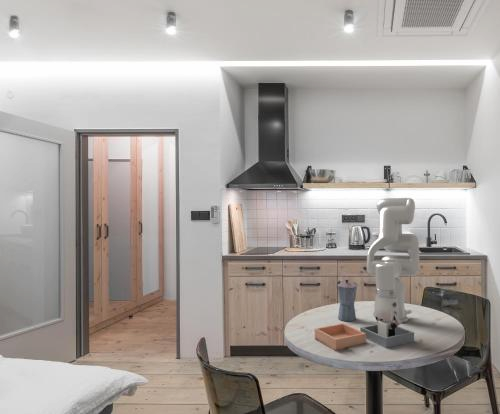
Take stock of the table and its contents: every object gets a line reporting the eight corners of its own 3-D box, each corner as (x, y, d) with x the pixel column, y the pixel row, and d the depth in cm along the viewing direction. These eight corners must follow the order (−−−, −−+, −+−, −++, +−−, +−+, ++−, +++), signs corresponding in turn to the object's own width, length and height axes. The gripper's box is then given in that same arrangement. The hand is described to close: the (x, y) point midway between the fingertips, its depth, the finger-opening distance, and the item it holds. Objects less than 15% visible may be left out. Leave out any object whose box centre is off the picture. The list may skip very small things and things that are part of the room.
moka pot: (348, 324, 177) (347, 282, 177) (329, 316, 191) (328, 277, 191) (364, 321, 181) (363, 280, 181) (344, 313, 195) (343, 275, 195)
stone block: (387, 333, 159) (386, 319, 159) (395, 337, 154) (395, 322, 154) (377, 335, 157) (377, 321, 157) (386, 339, 152) (386, 324, 152)
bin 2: (387, 332, 165) (387, 322, 165) (414, 343, 151) (414, 332, 151) (360, 337, 159) (360, 327, 159) (386, 349, 145) (385, 338, 145)
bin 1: (343, 333, 165) (342, 323, 165) (366, 344, 151) (365, 333, 151) (314, 338, 159) (314, 328, 159) (335, 351, 145) (335, 339, 145)
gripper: (408, 296, 149) (409, 340, 149) (378, 287, 164) (379, 328, 165) (393, 298, 146) (395, 344, 146) (364, 289, 161) (365, 330, 162)
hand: (386, 335), depth 155 cm, fingers closed on stone block, 5 cm apart
